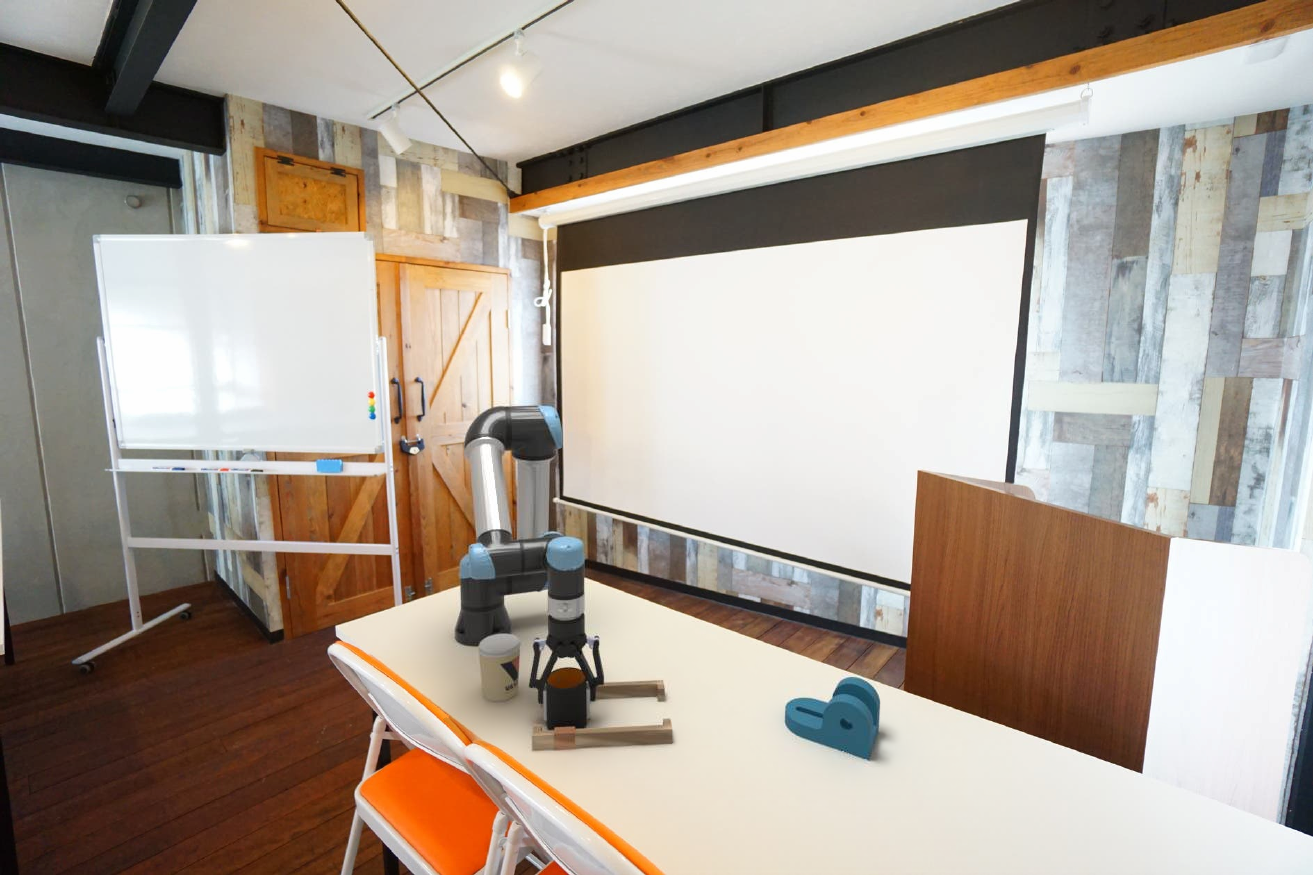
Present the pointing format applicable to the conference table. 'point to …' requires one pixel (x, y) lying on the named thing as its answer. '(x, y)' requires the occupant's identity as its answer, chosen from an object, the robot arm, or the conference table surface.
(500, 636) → the coffee cup
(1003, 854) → the conference table surface
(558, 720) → the mug
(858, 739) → the camera mount
